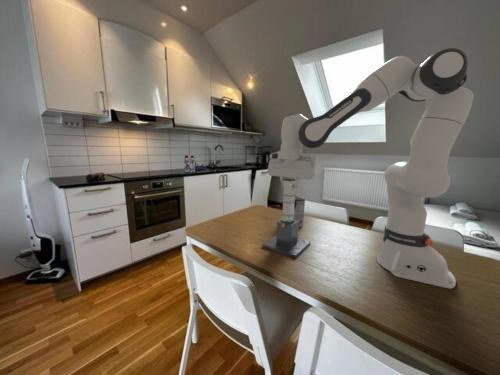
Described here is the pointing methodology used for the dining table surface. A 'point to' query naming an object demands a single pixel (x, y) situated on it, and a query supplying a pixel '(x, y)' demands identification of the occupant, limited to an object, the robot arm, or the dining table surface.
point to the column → (288, 201)
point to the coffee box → (299, 210)
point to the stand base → (287, 240)
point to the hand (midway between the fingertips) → (289, 187)
